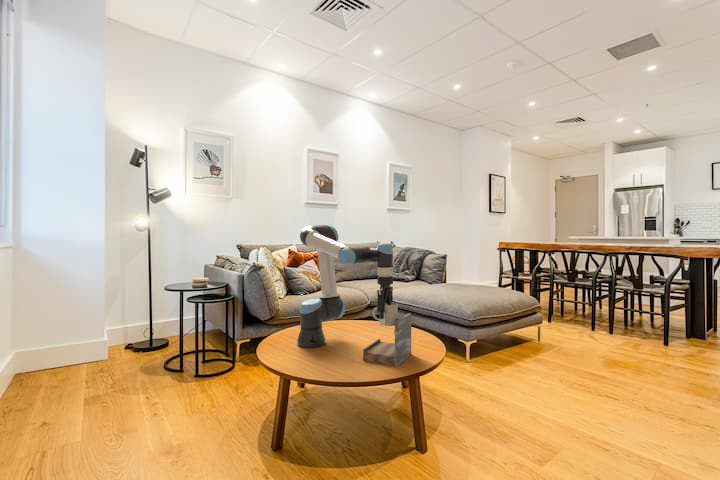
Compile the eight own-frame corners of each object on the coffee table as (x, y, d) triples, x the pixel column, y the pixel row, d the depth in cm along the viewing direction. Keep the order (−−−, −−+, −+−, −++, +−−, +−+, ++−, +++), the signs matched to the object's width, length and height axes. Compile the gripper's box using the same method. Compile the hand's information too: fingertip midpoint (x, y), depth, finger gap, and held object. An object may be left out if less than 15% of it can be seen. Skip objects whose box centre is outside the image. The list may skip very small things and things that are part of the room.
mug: (397, 327, 165) (397, 305, 165) (370, 325, 168) (370, 304, 168) (398, 322, 173) (398, 302, 173) (373, 321, 176) (373, 301, 176)
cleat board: (363, 360, 167) (362, 317, 166) (378, 348, 183) (378, 310, 182) (398, 366, 159) (397, 322, 158) (411, 354, 175) (411, 313, 174)
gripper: (384, 278, 160) (384, 329, 161) (399, 274, 177) (400, 320, 178) (369, 277, 164) (369, 327, 164) (385, 273, 181) (386, 318, 181)
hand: (385, 323), depth 171 cm, fingers closed on mug, 6 cm apart
